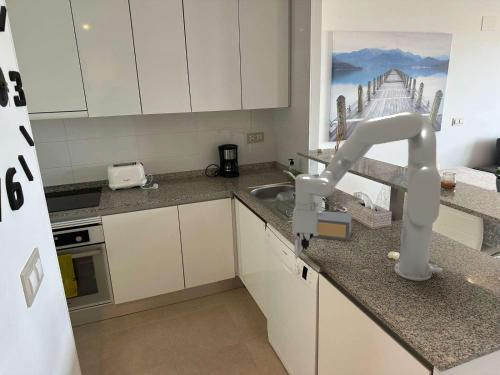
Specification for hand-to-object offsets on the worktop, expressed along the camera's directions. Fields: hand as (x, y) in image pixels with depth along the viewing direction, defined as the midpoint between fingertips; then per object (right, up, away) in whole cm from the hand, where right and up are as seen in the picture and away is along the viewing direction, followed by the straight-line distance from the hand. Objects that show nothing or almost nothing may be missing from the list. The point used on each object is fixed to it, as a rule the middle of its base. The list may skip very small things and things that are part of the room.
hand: (305, 247), depth 140 cm
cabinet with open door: (+14, +3, +24) cm, 28 cm away
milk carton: (+11, +8, +45) cm, 47 cm away
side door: (0, -1, +11) cm, 11 cm away
